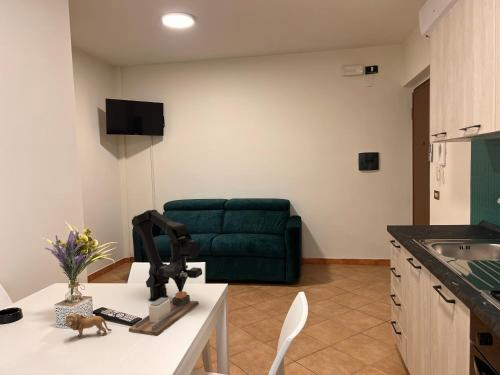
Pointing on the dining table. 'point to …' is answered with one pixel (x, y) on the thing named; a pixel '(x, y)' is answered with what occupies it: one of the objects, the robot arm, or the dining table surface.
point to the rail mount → (177, 311)
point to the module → (159, 309)
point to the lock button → (180, 295)
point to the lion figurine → (85, 323)
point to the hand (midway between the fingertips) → (180, 291)
